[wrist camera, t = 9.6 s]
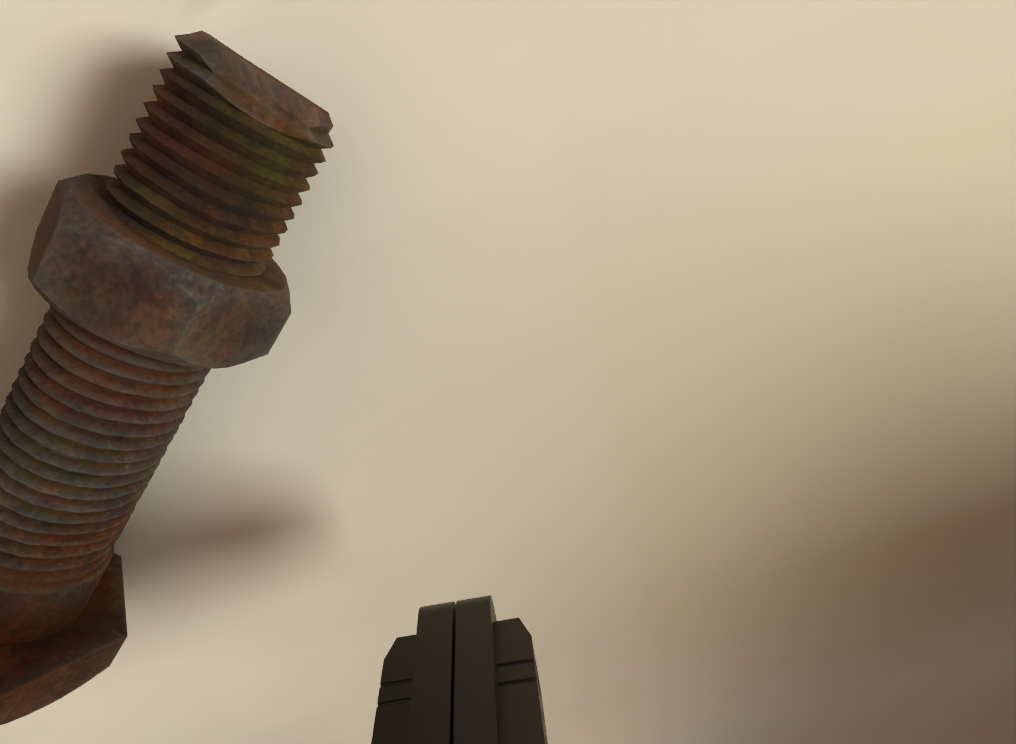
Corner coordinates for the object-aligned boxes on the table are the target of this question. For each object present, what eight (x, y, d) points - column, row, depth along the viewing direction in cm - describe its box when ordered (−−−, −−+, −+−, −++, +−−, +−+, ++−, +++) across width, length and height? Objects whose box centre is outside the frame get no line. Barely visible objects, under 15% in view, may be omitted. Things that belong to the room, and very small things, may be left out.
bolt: (337, 111, 16) (97, 553, 19) (115, -32, 12) (-130, 539, 16) (430, 185, 12) (105, 730, 15) (138, 2, 8) (-200, 762, 12)
